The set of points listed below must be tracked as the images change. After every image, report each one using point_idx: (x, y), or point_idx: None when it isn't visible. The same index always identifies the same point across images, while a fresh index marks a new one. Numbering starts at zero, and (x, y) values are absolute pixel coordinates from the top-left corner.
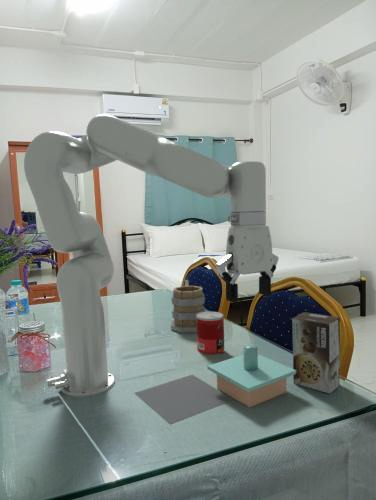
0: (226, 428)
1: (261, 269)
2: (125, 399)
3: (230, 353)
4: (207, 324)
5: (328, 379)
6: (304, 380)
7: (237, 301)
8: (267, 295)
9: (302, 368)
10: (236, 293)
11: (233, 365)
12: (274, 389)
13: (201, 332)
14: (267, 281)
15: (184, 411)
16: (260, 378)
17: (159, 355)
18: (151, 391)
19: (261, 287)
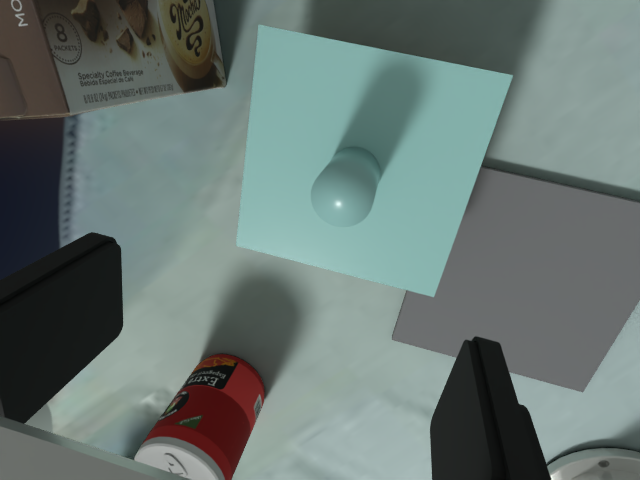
0: (602, 79)
1: (4, 465)
2: (612, 391)
3: (203, 336)
4: (221, 451)
5: None
6: (211, 42)
7: (476, 336)
8: (117, 252)
9: (194, 49)
10: (505, 394)
11: (374, 232)
12: None
13: (242, 442)
14: (15, 316)
15: (600, 228)
16: (408, 92)
17: (346, 465)
18: (548, 364)
19: (85, 340)
